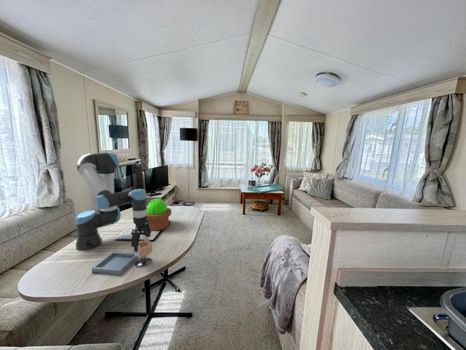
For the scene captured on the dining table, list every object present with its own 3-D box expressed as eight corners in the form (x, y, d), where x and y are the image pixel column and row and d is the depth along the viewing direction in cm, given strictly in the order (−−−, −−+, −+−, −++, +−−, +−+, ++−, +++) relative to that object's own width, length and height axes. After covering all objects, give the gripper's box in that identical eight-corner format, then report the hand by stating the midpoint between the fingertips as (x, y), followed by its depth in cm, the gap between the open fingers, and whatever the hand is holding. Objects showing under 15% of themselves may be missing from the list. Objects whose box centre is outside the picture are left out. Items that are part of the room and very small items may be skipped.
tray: (113, 256, 133) (112, 251, 132) (138, 258, 131) (137, 253, 130) (92, 272, 116) (91, 268, 116) (120, 275, 114) (119, 270, 113)
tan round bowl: (140, 247, 130) (139, 239, 129) (154, 248, 128) (154, 241, 127) (130, 255, 120) (130, 247, 119) (146, 257, 119) (145, 249, 118)
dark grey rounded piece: (140, 257, 131) (139, 247, 129) (155, 259, 130) (154, 248, 128) (131, 267, 121) (130, 255, 120) (147, 269, 120) (146, 257, 118)
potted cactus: (175, 222, 186) (174, 195, 182) (163, 233, 165) (162, 203, 160) (153, 220, 190) (151, 194, 185) (138, 230, 168) (136, 201, 164)
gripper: (144, 208, 131) (146, 241, 135) (121, 223, 110) (124, 261, 114) (155, 209, 130) (157, 242, 135) (134, 224, 109) (137, 262, 113)
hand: (142, 251), depth 124 cm, fingers closed on tan round bowl, 10 cm apart
